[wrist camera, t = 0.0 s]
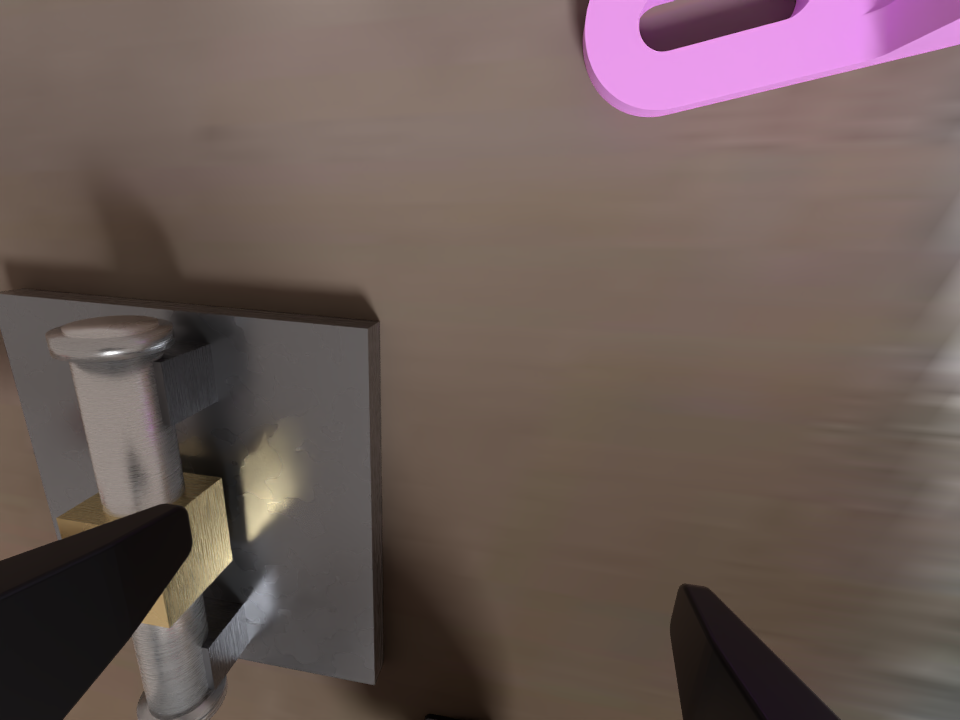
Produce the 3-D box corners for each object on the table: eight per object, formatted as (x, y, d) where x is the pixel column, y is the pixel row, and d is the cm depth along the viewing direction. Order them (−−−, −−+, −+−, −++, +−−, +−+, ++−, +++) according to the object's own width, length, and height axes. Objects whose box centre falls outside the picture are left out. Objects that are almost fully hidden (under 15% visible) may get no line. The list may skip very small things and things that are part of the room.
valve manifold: (383, 662, 29) (323, 819, 21) (102, 609, 32) (-39, 732, 24) (379, 321, 22) (290, 376, 15) (23, 288, 25) (-210, 320, 17)
